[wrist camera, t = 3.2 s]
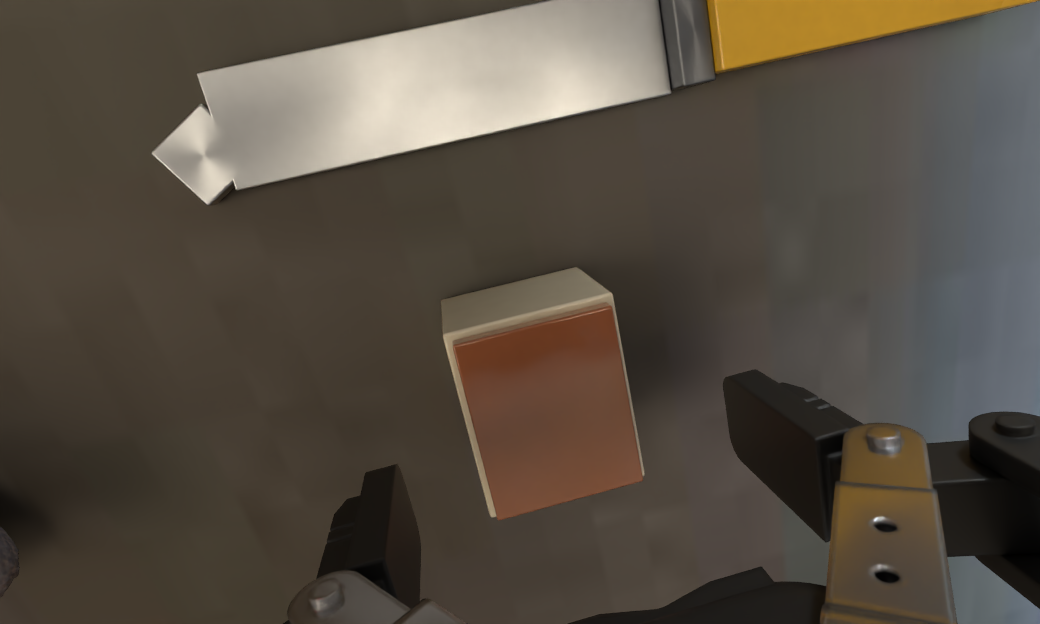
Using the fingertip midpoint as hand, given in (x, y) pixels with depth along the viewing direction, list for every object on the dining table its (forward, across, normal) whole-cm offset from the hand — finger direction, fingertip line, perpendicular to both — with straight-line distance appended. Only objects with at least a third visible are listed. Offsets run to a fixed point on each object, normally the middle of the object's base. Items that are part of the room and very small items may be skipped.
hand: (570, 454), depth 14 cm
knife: (+6, -4, -9) cm, 12 cm away
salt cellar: (+6, 0, 0) cm, 6 cm away
